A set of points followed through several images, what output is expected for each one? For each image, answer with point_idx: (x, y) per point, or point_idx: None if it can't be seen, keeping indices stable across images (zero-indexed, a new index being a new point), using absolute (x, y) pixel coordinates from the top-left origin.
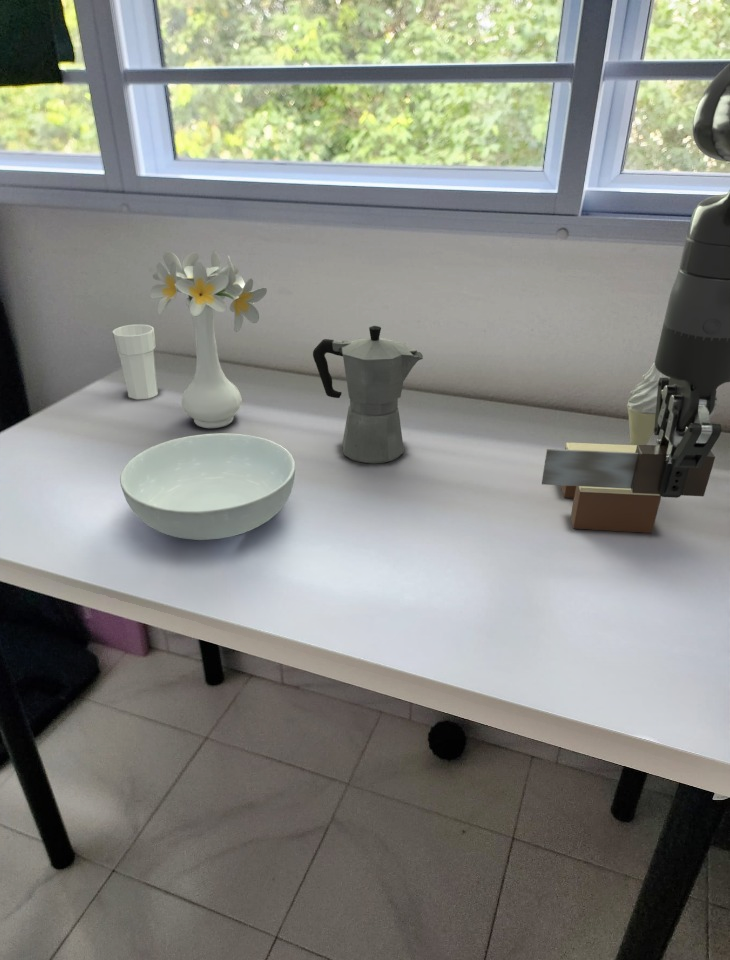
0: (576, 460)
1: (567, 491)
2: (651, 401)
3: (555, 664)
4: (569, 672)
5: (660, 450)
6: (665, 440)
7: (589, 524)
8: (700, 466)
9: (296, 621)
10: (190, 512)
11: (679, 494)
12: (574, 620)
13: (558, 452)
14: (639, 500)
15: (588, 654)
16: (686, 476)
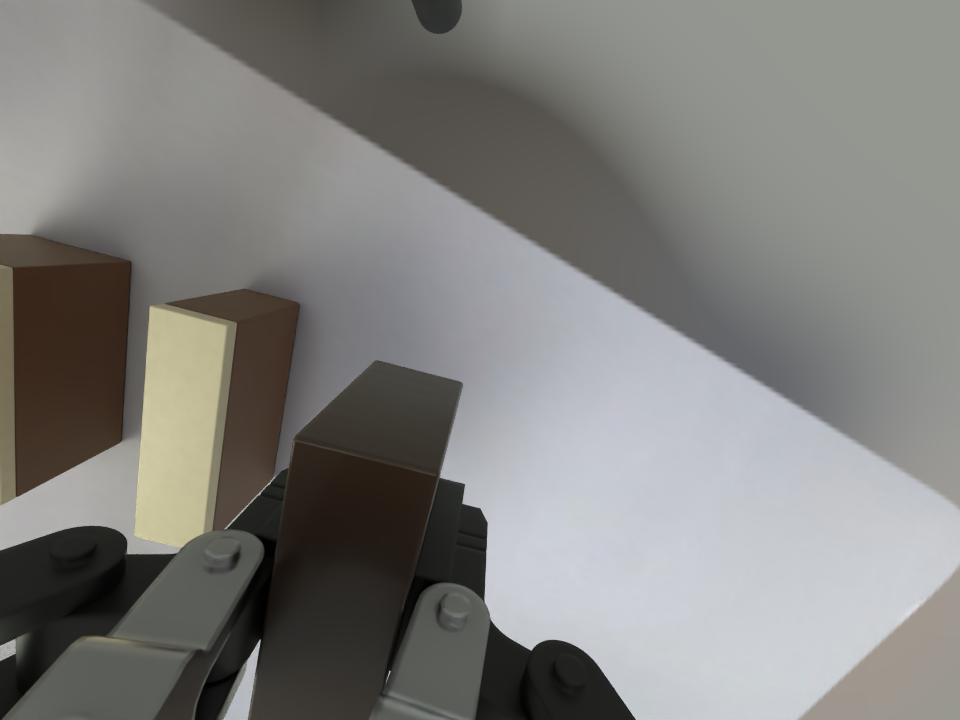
0: None
1: (106, 445)
2: None
3: (708, 669)
4: (733, 657)
5: (321, 712)
6: (230, 691)
7: (271, 454)
8: (600, 671)
9: None
10: None
11: (479, 510)
12: (601, 599)
13: None
14: (241, 378)
15: (698, 613)
16: (456, 539)
